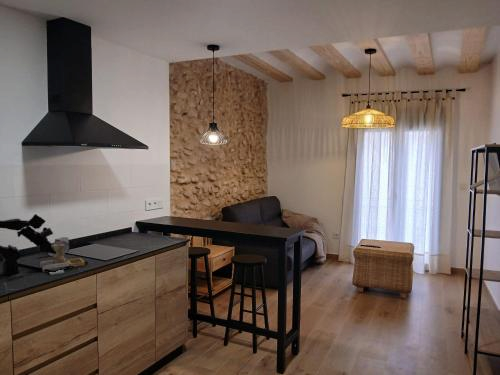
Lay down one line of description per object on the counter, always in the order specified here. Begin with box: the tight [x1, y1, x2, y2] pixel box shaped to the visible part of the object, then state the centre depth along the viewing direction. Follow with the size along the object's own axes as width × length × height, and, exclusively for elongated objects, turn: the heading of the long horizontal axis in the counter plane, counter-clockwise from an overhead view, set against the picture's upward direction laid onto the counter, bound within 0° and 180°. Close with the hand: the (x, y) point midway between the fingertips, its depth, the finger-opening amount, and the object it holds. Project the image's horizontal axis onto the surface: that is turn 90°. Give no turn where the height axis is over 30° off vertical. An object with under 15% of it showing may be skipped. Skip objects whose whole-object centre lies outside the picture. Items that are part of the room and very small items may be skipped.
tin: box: [44, 241, 71, 257], centre depth 248 cm, size 15×3×8 cm, turn 141°
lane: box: [39, 257, 69, 272], centre depth 223 cm, size 14×10×3 cm
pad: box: [48, 268, 65, 276], centre depth 214 cm, size 7×7×1 cm
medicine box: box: [54, 236, 70, 245], centre depth 258 cm, size 8×4×9 cm, turn 163°
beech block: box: [52, 244, 65, 264], centre depth 224 cm, size 5×5×13 cm
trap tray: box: [66, 257, 86, 268], centre depth 229 cm, size 8×10×2 cm
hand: (54, 251), depth 222 cm, fingers open, 9 cm apart
